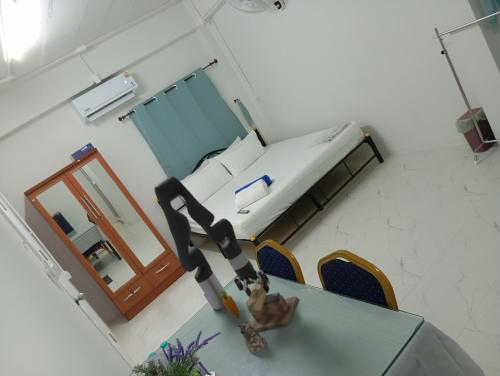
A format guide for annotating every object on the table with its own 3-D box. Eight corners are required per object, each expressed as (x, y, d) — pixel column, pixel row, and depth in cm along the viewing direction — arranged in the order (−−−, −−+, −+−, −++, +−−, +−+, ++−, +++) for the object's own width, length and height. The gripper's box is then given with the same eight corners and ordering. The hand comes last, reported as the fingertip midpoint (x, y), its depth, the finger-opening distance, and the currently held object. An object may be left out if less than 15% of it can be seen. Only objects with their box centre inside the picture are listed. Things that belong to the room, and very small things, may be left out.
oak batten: (252, 314, 181) (246, 305, 180) (262, 285, 199) (257, 276, 197) (261, 311, 179) (255, 302, 178) (270, 282, 197) (264, 273, 196)
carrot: (241, 318, 203) (225, 293, 199) (232, 322, 205) (215, 296, 201) (243, 311, 208) (227, 286, 204) (234, 315, 209) (218, 290, 205)
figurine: (260, 353, 173) (245, 329, 170) (246, 353, 177) (231, 330, 174) (268, 339, 178) (253, 316, 175) (254, 340, 183) (240, 317, 180)
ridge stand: (248, 333, 190) (236, 315, 187) (259, 307, 203) (249, 290, 201) (288, 324, 180) (276, 305, 178) (298, 298, 193) (287, 280, 191)
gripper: (257, 253, 184) (276, 284, 188) (230, 262, 191) (248, 291, 195) (251, 264, 178) (271, 296, 182) (223, 272, 185) (243, 303, 189)
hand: (259, 293), depth 189 cm, fingers open, 8 cm apart
